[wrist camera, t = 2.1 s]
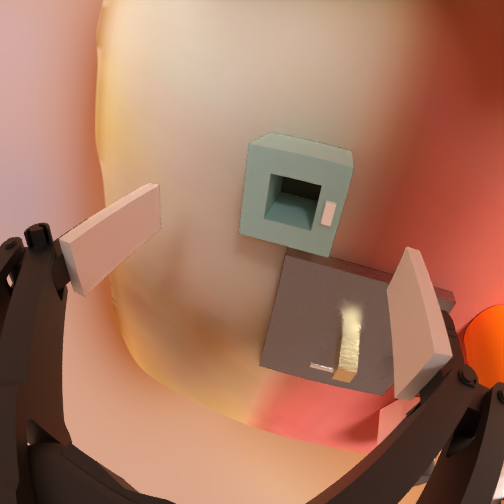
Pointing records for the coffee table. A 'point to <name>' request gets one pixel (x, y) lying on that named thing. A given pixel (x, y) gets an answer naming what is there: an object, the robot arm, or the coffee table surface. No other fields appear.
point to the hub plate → (334, 323)
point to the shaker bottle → (488, 359)
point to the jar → (392, 418)
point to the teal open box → (289, 206)
